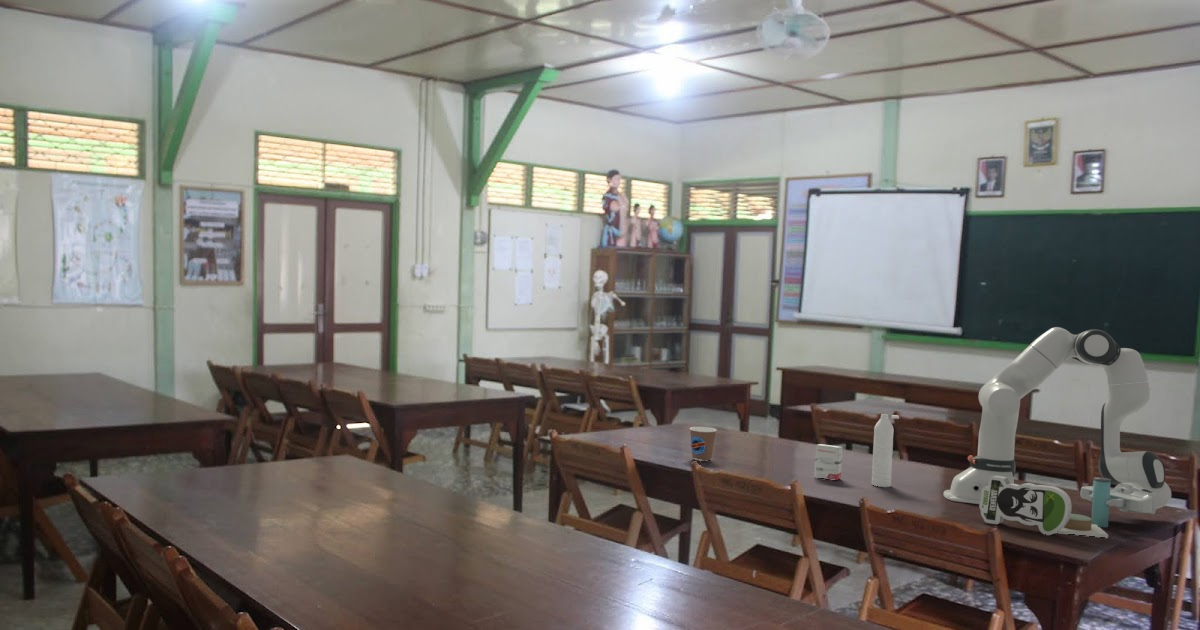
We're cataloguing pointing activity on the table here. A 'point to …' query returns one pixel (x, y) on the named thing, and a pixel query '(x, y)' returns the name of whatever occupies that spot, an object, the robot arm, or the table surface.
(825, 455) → the ink box
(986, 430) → the robot arm
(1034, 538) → the table surface
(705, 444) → the coffee cup
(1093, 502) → the tube
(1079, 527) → the display stand
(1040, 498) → the cutout
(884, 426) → the water bottle
